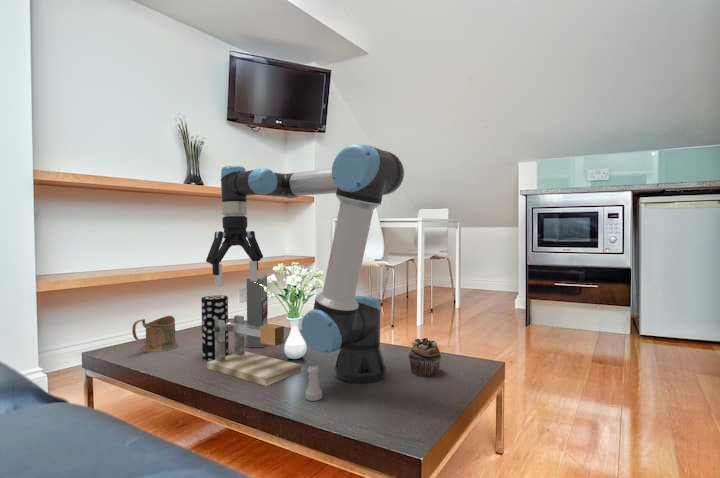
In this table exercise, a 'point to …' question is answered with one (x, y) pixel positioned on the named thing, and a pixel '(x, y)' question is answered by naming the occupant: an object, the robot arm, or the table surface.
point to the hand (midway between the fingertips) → (236, 283)
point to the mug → (158, 334)
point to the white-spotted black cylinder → (213, 323)
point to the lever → (259, 332)
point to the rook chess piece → (313, 384)
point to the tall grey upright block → (256, 307)
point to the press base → (247, 360)
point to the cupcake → (424, 358)
